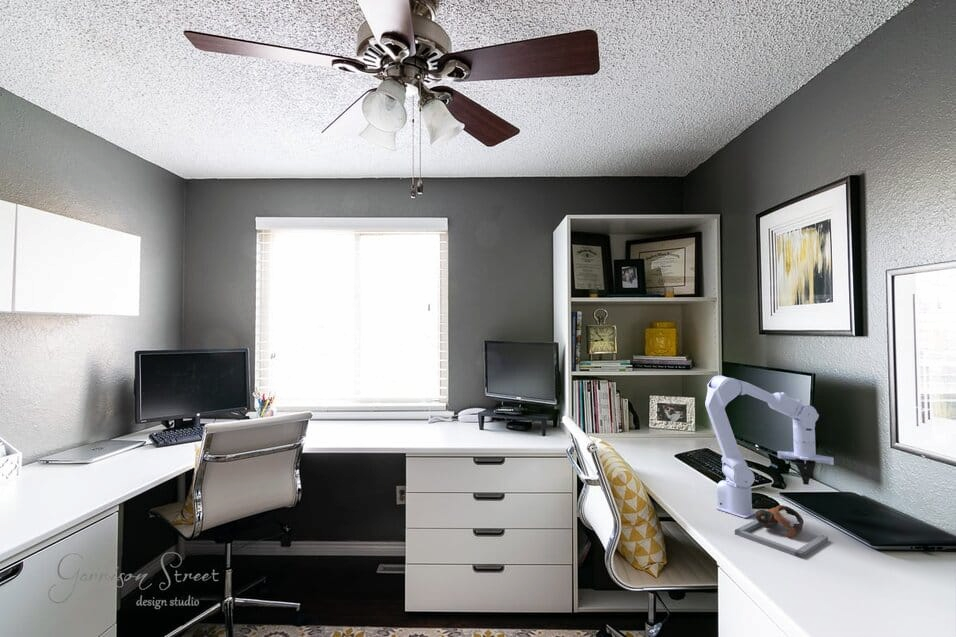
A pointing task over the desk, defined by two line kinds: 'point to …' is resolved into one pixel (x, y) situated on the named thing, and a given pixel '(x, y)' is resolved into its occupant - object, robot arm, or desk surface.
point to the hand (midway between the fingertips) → (805, 483)
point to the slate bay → (799, 553)
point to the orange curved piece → (780, 519)
